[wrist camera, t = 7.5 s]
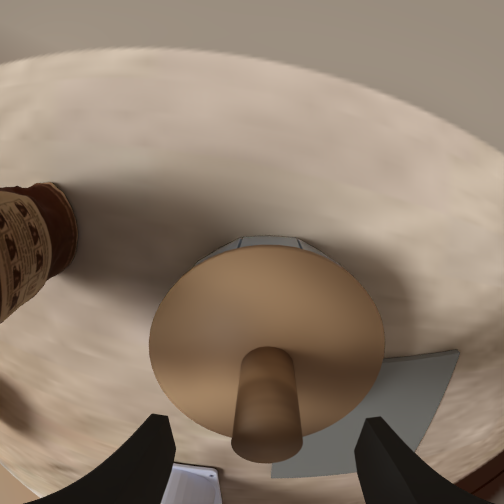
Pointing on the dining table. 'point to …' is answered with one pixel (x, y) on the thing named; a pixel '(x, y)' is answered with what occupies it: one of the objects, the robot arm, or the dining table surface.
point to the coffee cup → (33, 241)
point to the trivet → (377, 415)
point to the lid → (266, 347)
